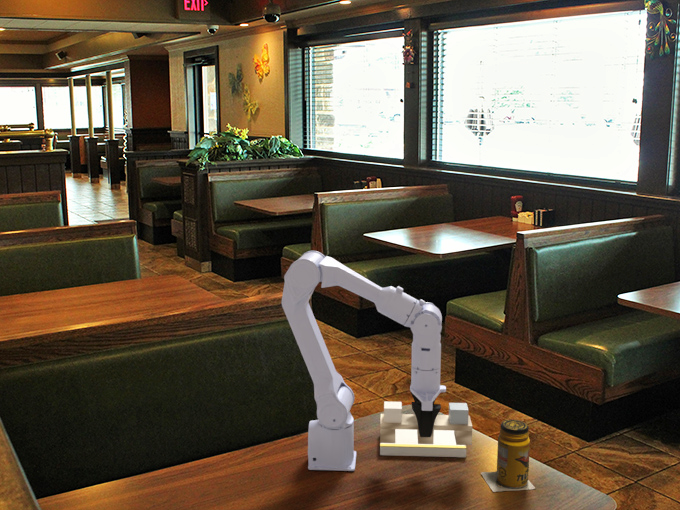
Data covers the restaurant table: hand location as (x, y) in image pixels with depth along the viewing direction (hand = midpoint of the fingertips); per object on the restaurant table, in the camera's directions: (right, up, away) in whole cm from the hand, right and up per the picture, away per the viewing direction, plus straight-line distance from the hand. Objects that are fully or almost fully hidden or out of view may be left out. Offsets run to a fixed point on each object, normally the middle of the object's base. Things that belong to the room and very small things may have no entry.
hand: (424, 430), depth 140 cm
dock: (+1, -6, +12) cm, 13 cm away
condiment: (+16, -9, -3) cm, 19 cm away
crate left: (-6, +2, 0) cm, 7 cm away
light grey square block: (+7, +2, -1) cm, 7 cm away
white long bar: (0, -2, 0) cm, 2 cm away
